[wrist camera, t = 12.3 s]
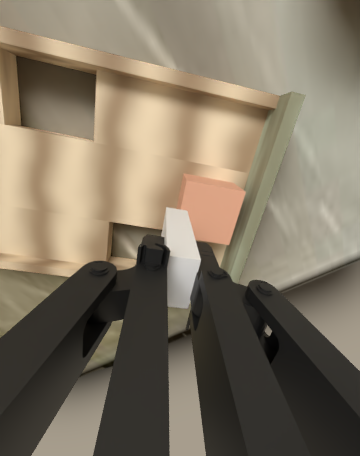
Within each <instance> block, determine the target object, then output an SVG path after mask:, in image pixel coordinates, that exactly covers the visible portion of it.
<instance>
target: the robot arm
mask: <svg viewBox="0 0 360 456" xmlns="http://www.w3.org/2000/svg"><path fill="white" fill-rule="evenodd" d="M190 301H191V310H190V314H189V318H188V321H187V325H186V330H188V328H189V325H190V328H191V336H192V344H193V353H194V361H195V368H196V376H197V385H198V393H199V401H200V408H201V418H202V425H203V433H204V442H205V450H206V456H360V371H359V370H358V369H357V368H356V367H355V366H354V365H353V364H352V363H350V361H349V360H348V359H347V358H346V357H345V356H344V355H343V354H342V353H341V352H340V351H339V350H337V348H336V347H335V346H334V345H333V344H331V342H329V340H328V339H327V338H325V336H323V335H322V334H321V333H320V332H319V331H318V330H317V329H316V328H315V327H314V326H313V325H312V324H311V323H310V322H309V321H308V320H307V319H306V318H305V317H304V316H303V315H302V314H301V313H300V312H299V311H298V310H297V309H296V308H295V307H294V306H293V305H292V304H291V303H290V302H289V301H288V300H287V299H286V298H285V297H284V296H283V295H282V294H281V293H280V292H279V291H278V290H277V289H276V288H275V287H273V286H272V285H270V284H268V283H267V282H265V281H261V280H252V281H250V282H249V284H248V287H246V286H243V285H240V284H237V283H235V282H233V281H232V279H231V276H230V275H229V274H228V272H226V271H225V270H224V269H222V268H220V267H219V264H218V262H217V259H216V257H215V255H214V252H213V250H212V247H211V246H210V245H209V244H207V243H205V242H198V241H196V240H195V237H194V233H193V229H192V226H191V222H190V219H189V215H188V211H186V210H180V209H174V208H168V207H166V212H165V218H164V223H163V229H162V234H161V236H154V235H146V236H145V237H143V240H142V244H140V245H139V247H138V254H137V261H136V265H135V266H133V267H132V268H129V269H125V270H117V268H116V266H115V265H114V264H112V263H110V262H107V261H93V262H89V263H87V264H85V265H84V266H82V267H81V268H80V269H79V270H78V271H77V272H76V273H74V274H73V275H72V276H71V277H70V278H69V279H68V280H66V281H65V282H64V283H63V284H62V285H61V286H60V287H58V288H57V289H56V290H55V291H54V292H53V293H52V294H50V295H49V296H48V297H47V298H46V299H45V300H44V301H42V302H41V303H40V304H39V305H38V306H37V307H36V308H34V309H33V310H32V311H31V312H30V313H29V314H28V315H26V316H25V317H24V318H23V319H22V320H21V321H20V322H18V323H17V324H16V325H15V326H14V327H13V328H12V329H10V330H9V331H8V332H7V333H6V334H5V335H4V336H2V337H1V338H0V456H31V455H32V453H33V452H34V450H35V448H36V447H37V445H38V443H39V441H40V440H41V438H42V437H43V435H44V434H45V432H46V430H47V429H48V427H49V425H50V424H51V422H52V420H53V419H54V417H55V416H56V414H57V412H58V411H59V409H60V407H61V406H62V404H63V403H64V401H65V399H66V398H67V396H68V394H69V393H70V391H71V389H72V388H73V386H74V384H75V383H76V381H77V380H78V378H79V376H80V375H81V373H82V371H83V370H84V368H85V367H86V365H87V363H88V362H89V360H90V358H91V357H92V355H93V353H94V352H95V350H96V349H97V347H98V345H99V344H100V342H101V340H102V339H103V337H104V336H105V334H106V332H107V331H108V329H109V327H110V326H111V323H112V321H117V320H122V319H124V320H123V325H122V329H121V334H120V338H119V342H118V347H117V351H116V356H115V360H114V365H113V369H112V374H111V378H110V383H109V387H108V391H107V396H106V400H105V405H104V410H103V414H102V418H101V423H100V427H99V432H98V436H97V440H96V445H95V450H94V455H93V456H169V384H168V383H169V381H168V307H176V308H185V309H188V307H189V303H190ZM267 325H268V326H269V327H270V328H271V330H272V333H271V335H270V336H268V335H267V334H266V333H265V329H266V327H267Z"/></svg>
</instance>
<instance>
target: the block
mask: <svg viewBox="0 0 360 456" xmlns="http://www.w3.org/2000/svg"><path fill="white" fill-rule="evenodd" d="M245 193H246V191H244V190H243V189H241V188H240V187H239V186H237V185H236V184H234V183H231V182H226V181H221V180H216V179H211V178H206V177H200V176H195V175H190V174H185V173H184V174H183V179H182V184H181V189H180V194H179V199H178V204H177V209H180V210H186V211H188V215H189V219H190V222H191V226H192V229H193V233H194V237H195V240H200V241H206V242H212V243H219V244H225V245H229V244H230V240H231V237H232V234H233V231H234V228H235V225H236V222H237V218H238V215H239V212H240V209H241V206H242V203H243V200H244V196H245Z"/></svg>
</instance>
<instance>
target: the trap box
mask: <svg viewBox="0 0 360 456" xmlns="http://www.w3.org/2000/svg"><path fill="white" fill-rule="evenodd" d="M16 56H20V57H24V58H28V59H32V60H37V61H41V62H45V63H49V64H54V65H58V66H62V67H66V68H70V69H75V70H79V71H83V72H87V73H92V74H96V99H95V124H94V140H90V139H85V138H80V137H75V136H70V135H65V134H60V133H55V132H50V131H45V130H40V129H35V128H30V127H25V126H21V114H20V101H19V88H18V75H17V62H16ZM305 96H306V95H303V94H299V93H295V92H290V93H287V94H284V95H281V96H278V95H274V94H270V93H266V92H262V91H258V90H254V89H250V88H246V87H242V86H238V85H234V84H230V83H226V82H222V81H218V80H214V79H210V78H206V77H202V76H198V75H194V74H190V73H186V72H182V71H178V70H174V69H170V68H166V67H162V66H158V65H154V64H150V63H146V62H142V61H138V60H134V59H130V58H126V57H122V56H118V55H114V54H110V53H106V52H102V51H98V50H94V49H90V48H86V47H82V46H78V45H74V44H70V43H66V42H62V41H58V40H54V39H50V38H46V37H42V36H38V35H34V34H30V33H26V32H22V31H18V30H14V29H10V28H6V27H2V26H0V268H2V269H10V270H18V271H26V272H34V273H43V274H51V275H59V276H67V277H71V276H72V275H73V274H74V273H76V272H77V271H78V270H79V269H80V268H81V267H82V266H84V265H85V264H87V263H89V262H93V261H107V262H110V263H112V264H114V265H115V266H116V268H117V270H125V269H129V268H132V267H133V266H135V265H136V261H137V260H135V259H128V258H121V257H113V256H111V246H112V234H113V222H115V223H122V224H128V225H134V226H141V227H147V228H154V229H160V230H162V229H163V223H164V218H165V212H166V207H168V208H174V209H177V204H178V199H179V194H180V189H181V184H182V179H183V174H184V173H185V174H190V175H195V176H200V177H206V178H211V179H216V180H221V181H226V182H231V183H234V184H236V185H237V186H239V187H240V188H241V189H243V190H244V191H246V193H245V196H244V200H243V203H242V206H241V209H240V212H239V215H238V218H237V222H236V225H235V228H234V231H233V234H232V237H231V240H230V244H229V245H225V244H219V243H212V242H206V241H200V240H196V241H198V242H205V243H207V244H209V245H210V246H211V247H212V250H213V252H214V255H215V257H216V259H217V262H218V264H219V267H220V268H222V269H224V270H225V271H226V272H228V274H229V275H230V276H231V279H232V281H233V282H235V283H237V284H238V282H239V279H240V276H241V274H242V271H243V268H244V265H245V263H246V260H247V257H248V254H249V251H250V249H251V246H252V243H253V240H254V238H255V235H256V232H257V229H258V226H259V224H260V221H261V218H262V215H263V213H264V210H265V207H266V204H267V201H268V199H269V196H270V193H271V190H272V188H273V185H274V182H275V179H276V176H277V174H278V171H279V168H280V165H281V163H282V160H283V157H284V154H285V151H286V149H287V146H288V143H289V140H290V138H291V135H292V132H293V129H294V126H295V124H296V121H297V118H298V115H299V112H300V110H301V107H302V104H303V101H304V99H305Z"/></svg>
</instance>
